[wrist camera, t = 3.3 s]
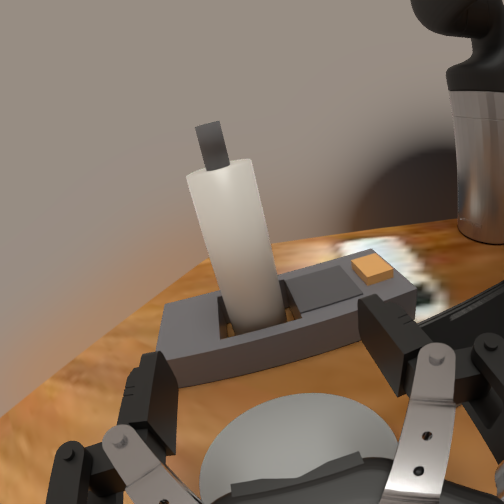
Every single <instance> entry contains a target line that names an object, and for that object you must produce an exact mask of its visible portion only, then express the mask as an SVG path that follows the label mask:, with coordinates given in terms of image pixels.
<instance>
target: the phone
mask: <svg viewBox="0 0 504 504" xmlns="http://www.w3.org/2000/svg"><path fill="white" fill-rule="evenodd" d="M417 324H418V325H419V327H420V328H421V329H422V330H423V331H424V332H425V333H426V334H427V335H428V337H429V338H430V339H431V340H432V341H433V342H434V343H443V344H446V345H448V346H450V347H451V348H452V349H453V350H458V349H463V348H468V347H473V345H474V341H475V339H476V338H477V337H478V336H479V335H481V334H483V333H495V334H497V335H499V336H501V337H502V338H503V339H504V280H503V281H501V282H500V283H498V284H496V285H494V286H492V287H491V288H489V289H487V290H485V291H483V292H481V293H480V294H478V295H476V296H474V297H472V298H470V299H468V300H466V301H464V302H462V303H460V304H458V305H456V306H454V307H452V308H450V309H448V310H446V311H444V312H441V313H439V314H437V315H435V316H433V317H431V318H428V319H426V320H424V321H422V322H419V323H417ZM461 404H462V403H459V404H456V407H458V406H460V405H461Z"/></svg>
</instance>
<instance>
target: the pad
mask: <svg viewBox="0 0 504 504" xmlns="http://www.w3.org/2000/svg"><path fill="white" fill-rule="evenodd" d="M397 446H398V442H397V440H396V437H395V435H394V433H393V432H392V430H391V429H390V427H389V426H388V425H387V423H386V422H385V421H384V420H383V419H382V418H381V417H380V416H379V415H378V414H376V413H375V412H374V411H373V410H371V409H369V408H368V407H366V406H365V405H363V404H361V403H358V402H356V401H354V400H351V399H348V398H345V397H341V396H337V395H331V394H324V393H303V394H295V395H288V396H284V397H279V398H276V399H273V400H270V401H267V402H265V403H262V404H260V405H257V406H255V407H253V408H251V409H250V410H248V411H246V412H245V413H243V414H241V415H240V416H238V417H237V418H236V419H234V420H233V421H232V422H230V423H229V424H228V425H227V426H226V427H225V428H224V429H223V430H222V431H221V432H220V434H219V435H218V436H217V437H216V438H215V440H214V441H213V443H212V444H211V446H210V447H209V449H208V451H207V453H206V455H205V458H204V460H203V463H202V467H201V472H200V482H199V487H200V495H201V499H202V502H203V503H204V504H211V503H212V502H213V501H215V500H216V499H218V498H219V497H221V496H223V495H225V494H227V493H229V492H231V485H230V484H234V483H240V482H246V481H252V480H257V479H262V478H263V479H278V478H297V477H300V476H302V475H304V474H306V473H308V472H310V471H312V470H314V469H315V468H317V467H319V466H321V465H323V464H324V463H326V462H328V461H331V460H334V459H337V458H340V457H343V456H346V455H349V454H352V453H354V452H357V451H359V452H360V455H361V457H362V458H365V457H383V458H389V459H394V456H395V453H396V449H397Z"/></svg>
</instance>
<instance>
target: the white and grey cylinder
mask: <svg viewBox="0 0 504 504" xmlns="http://www.w3.org/2000/svg"><path fill="white" fill-rule="evenodd" d="M195 129H196V133H197V137H198V141H199V145H200V148H201V152H202V156H203V160H204V164H205V167H206V168H203V169H200V170H197V171H195V172H192V173H190V174H189V175H187V176H186V179H187V183H188V186H189V190H190V194H191V197H192V200H193V204H194V207H195V210H196V214H197V217H198V221H199V224H200V227H201V231H202V234H203V237H204V241H205V244H206V247H207V250H208V253H209V257H210V260H211V263H212V266H213V269H214V273H215V276H216V279H217V282H218V285H219V288H220V291H221V294H222V297H223V300H224V303H225V306H226V309H227V312H228V315H229V318H230V321H231V324H232V327H233V330H234V333H235V336H237V335H241V334H245V333H249V332H253V331H257V330H261V329H265V328H268V327H272V326H276V325H279V324H283V323H287V318H286V313H285V308H284V303H283V299H282V294H281V289H280V285H279V280H278V276H277V271H276V266H275V262H274V257H273V253H272V248H271V244H270V239H269V235H268V230H267V226H266V221H265V218H264V213H263V208H262V204H261V200H260V195H259V191H258V187H257V182H256V178H255V174H254V170H253V165H252V161H251V159H239V160H233V161H229V158H228V154H227V150H226V146H225V142H224V138H223V134H222V130H221V126H220V122H219V121H216V122H212V123H208V124H204V125H201V126H197V127H195Z"/></svg>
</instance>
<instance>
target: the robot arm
mask: <svg viewBox="0 0 504 504" xmlns="http://www.w3.org/2000/svg"><path fill="white" fill-rule="evenodd" d="M411 4H412V8H413V11H414V13H415V15H416V17H417V18H418V20H419V21H420V22H421V23H422V25H424V26H425V27H426V28H427V29H429V30H431V31H433V32H435V33H438V34H442V35H446V36H455V37H465V38H471V41H472V48H473V54H472V56H471V57H470V58H469V59H468V60H466V61H464V62H462V63H460V64H457V65H454V66H452V67H450V68H448V70H447V71H446V79H447V85H448V90H449V96H450V102H451V109H452V115H453V124H454V133H455V142H456V155H457V173H458V229H459V230H460V231H461V232H462V233H463V234H464V235H466V236H467V237H469V238H471V239H474V240H477V241H481V242H485V243H492V244H502V243H504V5H503V2H502V0H411ZM357 307H358V330H359V335H360V338H361V340H362V342H363V344H364V345H365V347H366V349H367V350H368V352H369V353H370V355H371V356H372V358H373V359H374V361H375V363H376V364H377V366H378V367H379V369H380V370H381V372H382V374H383V375H384V377H385V378H386V380H387V382H388V383H389V385H390V386H391V388H392V390H393V391H394V393H395V394H396V396H397V398H398V397H400V396H402V395H404V394H407V395H408V397H409V398H410V399H409V403H408V408H407V412H406V416H405V420H404V424H403V428H402V432H401V436H400V439H399V443H398V446H397V449H396V453H395V456H394V459H389V458H383V457H365V458H362V457H361V455H360V452H359V451H357V452H354V453H352V454H349V455H346V456H343V457H340V458H337V459H334V460H331V461H328V462H326V463H324V464H323V465H321V466H319V467H317V468H315V469H314V470H312V471H310V472H308V473H306V474H304V475H302V476H300V477H297V478H278V479H263V478H262V479H257V480H252V481H246V482H240V483H234V484H230V485H231V492H229V493H227V494H225V495H223V496H221V497H219V498H218V499H216V500H215V501H213V502H212V503H211V504H504V339H503V338H502V337H501V336H499V335H497V334H495V333H483V334H481V335H479V336H478V337H477V338H476V339H475V341H474V345H473V347H468V348H463V349H458V350H453V349H452V348H451V347H450V346H448V345H446V344H443V343H434V342H433V341H432V340H431V339H430V338H429V337H428V335H427V334H426V333H425V332H424V331H423V330H422V329H421V328H420V327H419V325H418V324H417V323H416V322H415V321H413V319H412V318H411V317H410V316H409V315H408V314H407V312H406V311H405V310H404V309H403V308H402V307H401V306H399V305H397V304H395V303H393V302H391V301H389V302H387V303H384V301H383V300H382V299H381V298H380V297H379V296H378V295H377V294H372V295H369V296H366V297H363V298H360V299H358V302H357ZM178 391H179V390H178V383H177V380H176V377H175V375H174V373H173V371H172V370H171V368H170V366H169V364H168V362H167V360H166V358H165V357H164V355H163V353H162V352H161V351H156V352H151V353H146V354H143V355H142V357H141V361H140V365H139V367H137V368H134V369H133V370H132V372H131V373H130V375H129V376H128V378H127V382H126V386H125V390H124V394H123V396H124V397H123V399H122V403H121V407H120V412H119V417H118V421H117V426H114V427H112V428H111V429H110V430H108V431H107V432H106V434H105V435H104V437H103V440H102V442H100V443H98V444H95V445H92V446H88V447H85V448H84V447H83V446H82V445H81V444H80V443H79V442H77V441H68V442H66V443H64V444H62V445H61V446H60V447H59V449H58V450H57V452H56V455H55V459H54V463H53V468H52V473H51V477H50V482H49V488H48V493H47V499H46V504H123V491H125V490H126V492H127V494H128V495H129V497H130V498H131V500H132V501H133V502H134V504H204V503H203V502H202V501H201V500H200V499H199V498H198V497H197V496H196V495H195V494H194V493H193V492H192V491H191V490H190V489H189V488H188V487H187V486H186V485H185V484H184V483H183V482H182V481H181V480H180V479H179V478H178V477H177V476H176V475H175V474H174V472H173V471H172V470H171V469H170V468H169V467H168V466H167V465H166V464H165V463H166V456H171V455H176V429H177V409H178ZM459 403H462V405H463V407H464V408H465V410H466V411H467V413H468V414H469V416H470V418H471V419H472V421H473V422H474V424H475V426H476V427H477V429H478V430H479V432H480V434H481V435H482V437H483V439H484V440H485V442H486V444H487V445H488V447H489V449H490V451H491V452H492V454H493V456H494V458H495V459H496V461H497V463H498V467H497V469H496V472H495V482H496V487H497V496H494V495H492V494H488V493H485V492H481V491H478V490H475V489H471V488H468V487H465V486H462V485H459V484H456V483H453V482H450V481H447V480H445V479H444V477H445V473H446V468H447V463H448V458H449V452H450V446H451V440H452V434H453V426H454V418H455V409H456V404H459ZM87 498H88V499H87Z"/></svg>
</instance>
